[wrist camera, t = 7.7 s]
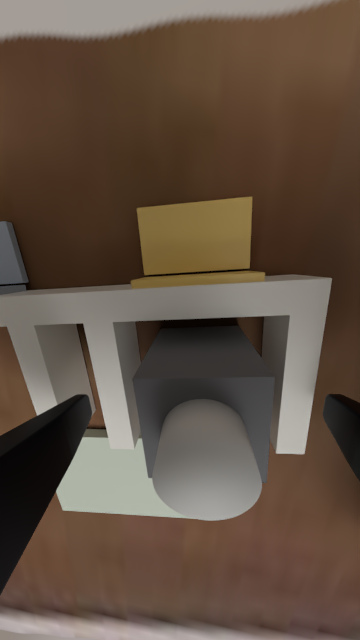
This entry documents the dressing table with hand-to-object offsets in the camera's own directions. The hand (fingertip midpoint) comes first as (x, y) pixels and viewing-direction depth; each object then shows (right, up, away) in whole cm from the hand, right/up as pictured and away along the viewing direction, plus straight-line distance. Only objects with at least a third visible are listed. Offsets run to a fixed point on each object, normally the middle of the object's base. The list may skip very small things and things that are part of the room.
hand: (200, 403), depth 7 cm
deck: (-5, -7, +6) cm, 10 cm away
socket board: (-5, +2, +3) cm, 6 cm away
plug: (0, +1, +3) cm, 3 cm away
